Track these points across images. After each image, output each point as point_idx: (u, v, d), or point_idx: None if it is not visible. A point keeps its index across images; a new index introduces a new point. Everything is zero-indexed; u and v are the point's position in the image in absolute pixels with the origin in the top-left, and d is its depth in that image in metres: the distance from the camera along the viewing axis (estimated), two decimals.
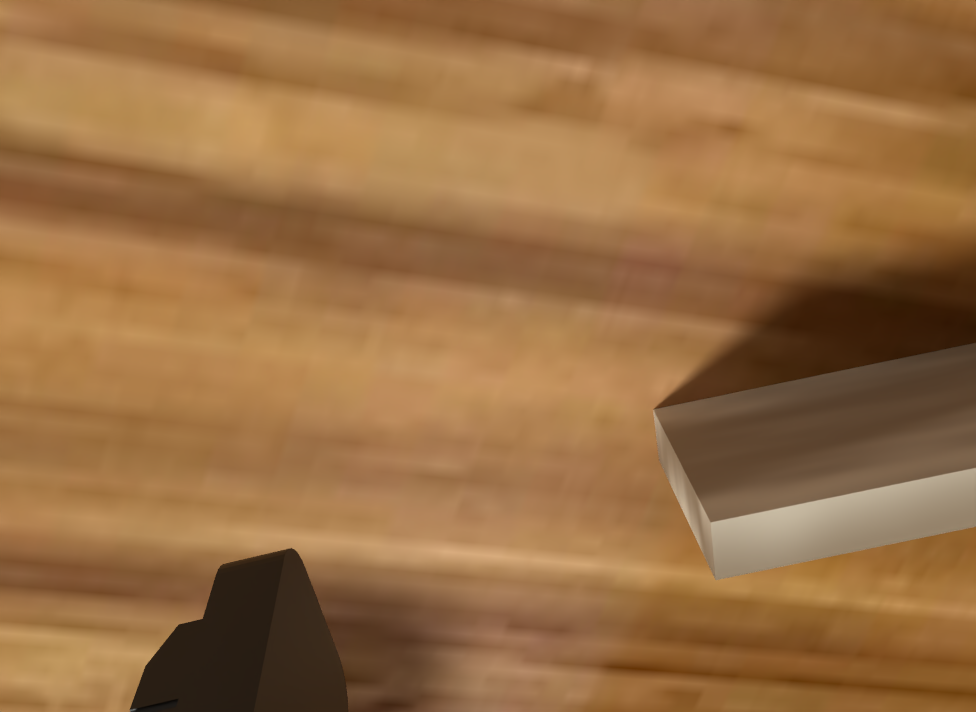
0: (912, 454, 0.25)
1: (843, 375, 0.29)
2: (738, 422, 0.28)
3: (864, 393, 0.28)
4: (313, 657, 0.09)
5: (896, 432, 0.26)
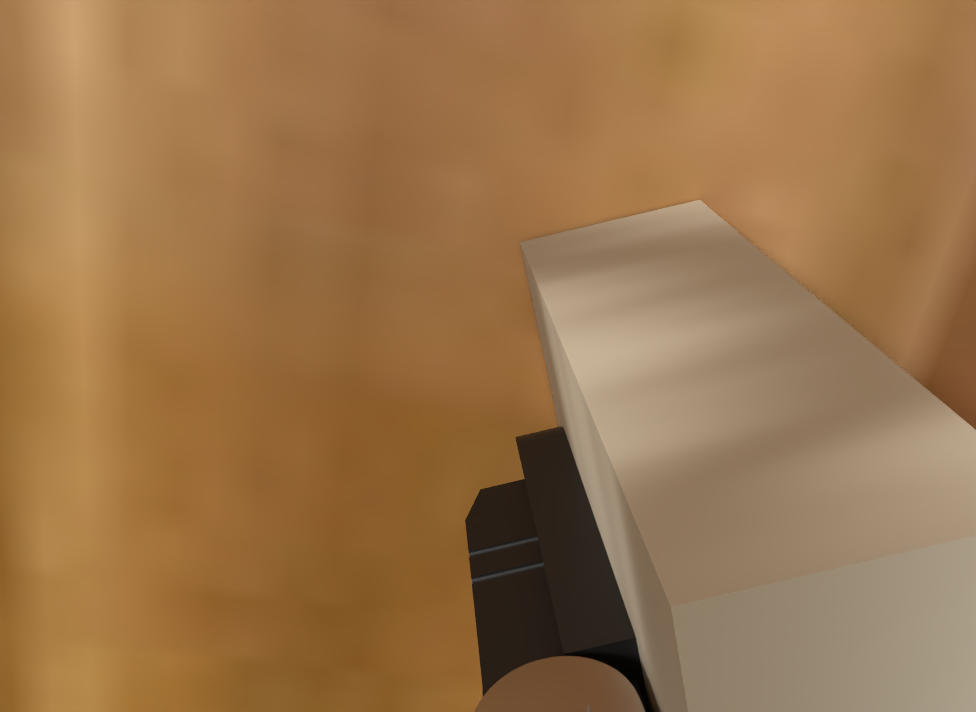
0: None
1: None
2: None
3: None
4: None
5: None
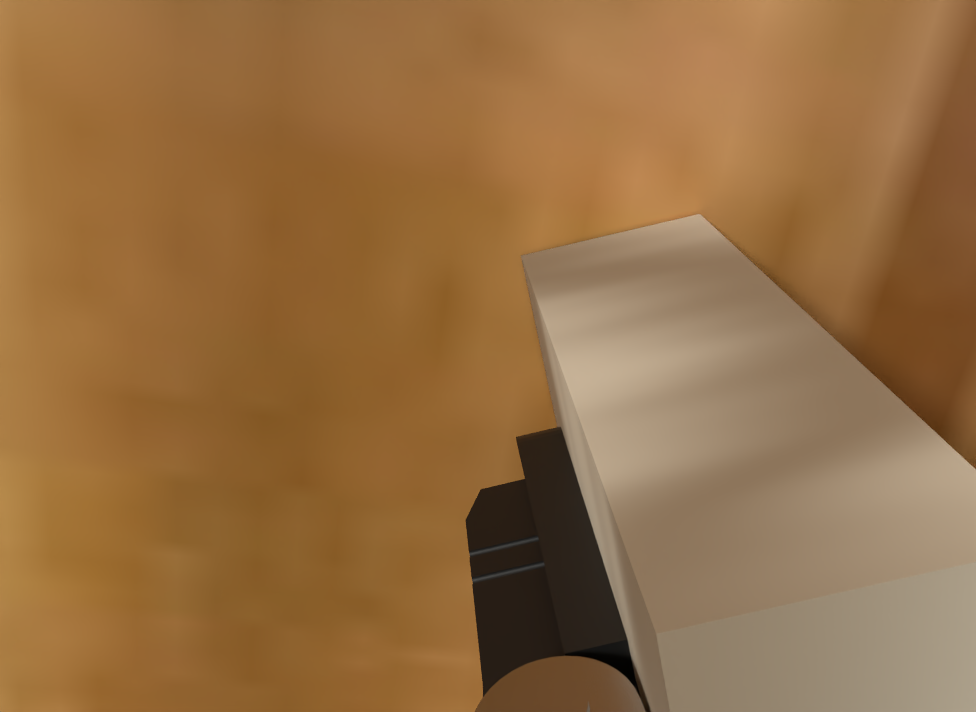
0: None
1: None
2: None
3: None
4: None
5: None
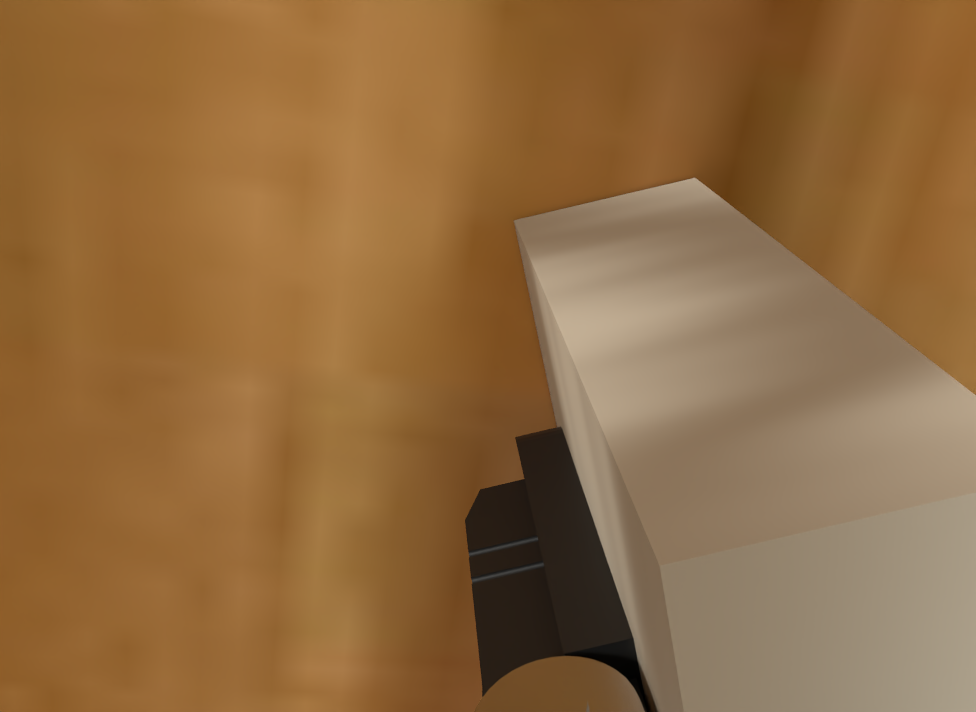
0: None
1: None
2: None
3: None
4: None
5: None
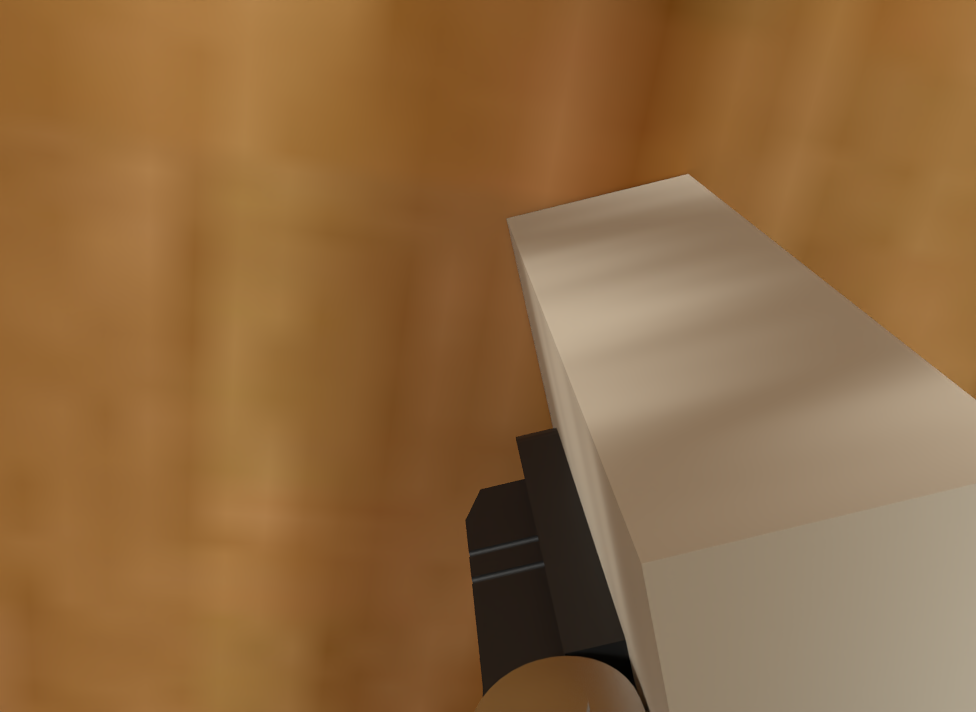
0: None
1: None
2: None
3: None
4: None
5: None
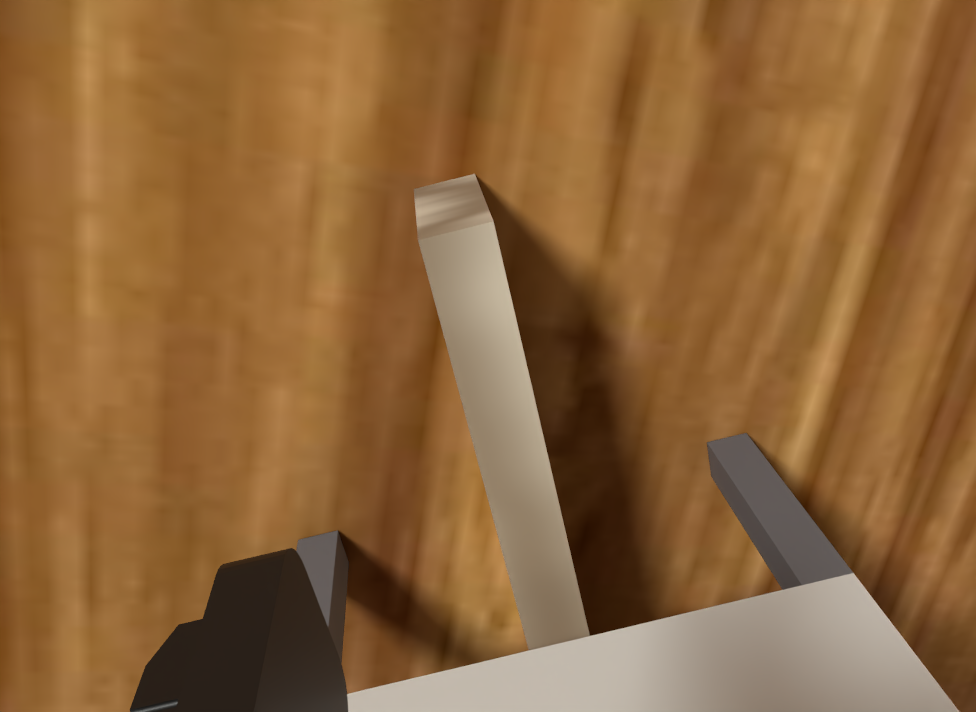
0: None
1: None
2: None
3: None
4: (314, 657, 0.09)
5: None
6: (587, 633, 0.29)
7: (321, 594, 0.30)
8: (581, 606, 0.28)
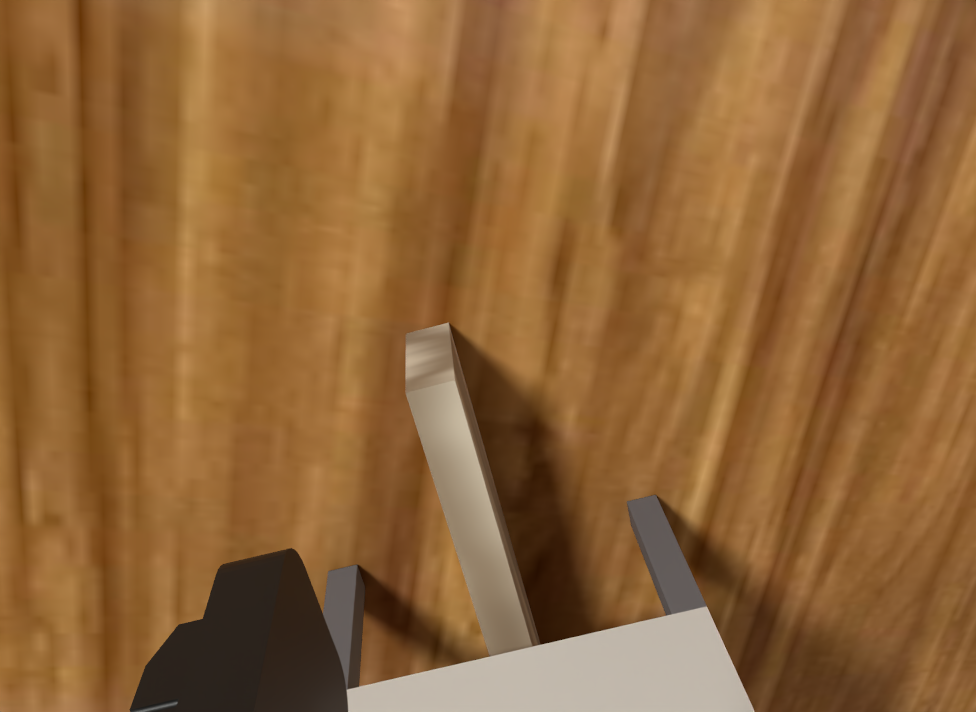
0: (488, 489, 0.39)
1: (481, 439, 0.43)
2: (463, 381, 0.40)
3: (484, 454, 0.42)
4: (313, 657, 0.09)
5: (487, 478, 0.40)
6: (530, 643, 0.41)
7: (346, 614, 0.43)
8: (525, 625, 0.41)
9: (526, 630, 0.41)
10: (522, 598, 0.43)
